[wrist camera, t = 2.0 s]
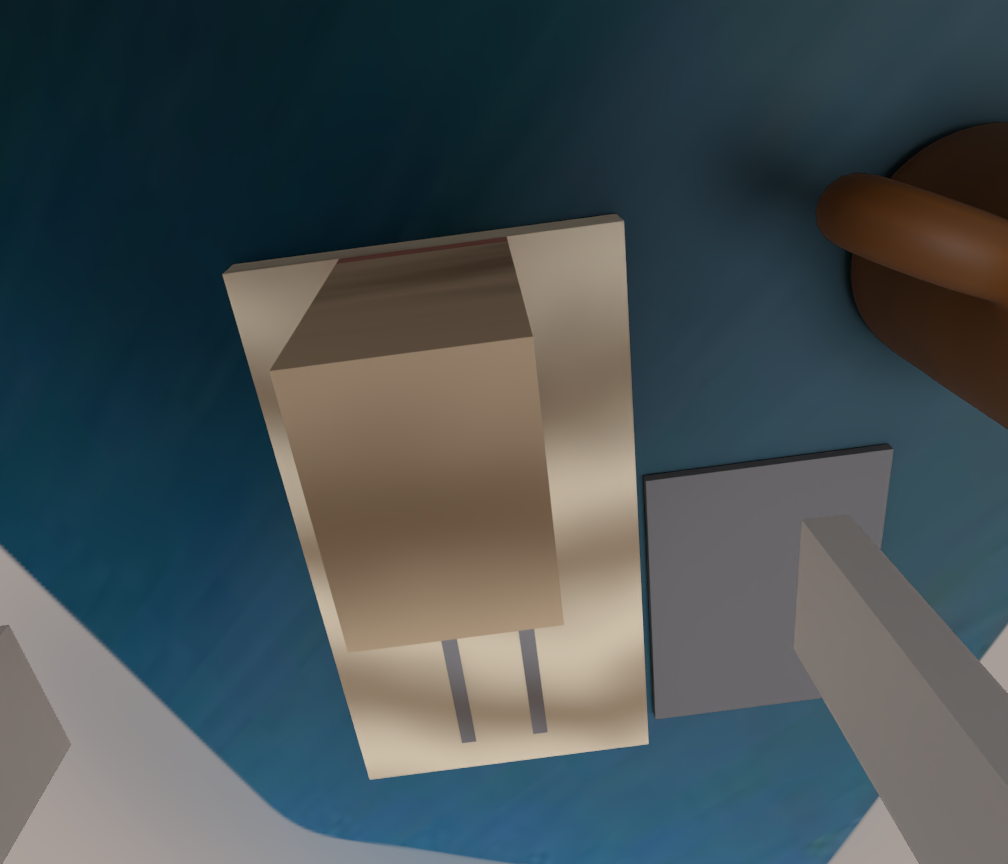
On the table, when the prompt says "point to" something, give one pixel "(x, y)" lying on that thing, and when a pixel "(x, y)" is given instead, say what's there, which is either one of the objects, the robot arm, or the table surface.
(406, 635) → the block
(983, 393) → the mug
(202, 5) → the table surface
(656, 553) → the mat
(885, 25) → the table surface
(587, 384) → the board
